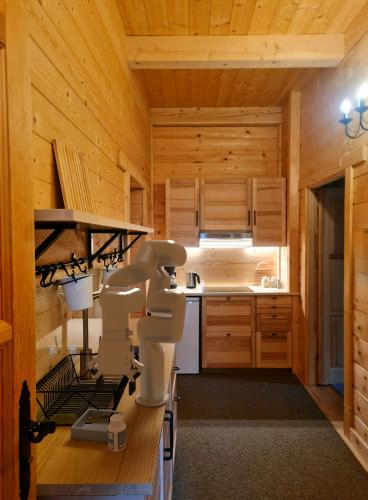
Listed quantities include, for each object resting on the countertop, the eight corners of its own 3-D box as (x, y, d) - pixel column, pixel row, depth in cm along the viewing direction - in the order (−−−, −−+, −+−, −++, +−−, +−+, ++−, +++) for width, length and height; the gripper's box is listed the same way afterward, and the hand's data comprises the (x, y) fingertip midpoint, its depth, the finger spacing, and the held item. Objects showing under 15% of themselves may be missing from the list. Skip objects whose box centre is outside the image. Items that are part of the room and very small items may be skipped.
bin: (88, 418, 116) (88, 408, 116) (122, 421, 114) (122, 411, 114) (70, 439, 105) (70, 427, 105) (107, 443, 102) (107, 431, 102)
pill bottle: (127, 441, 103) (127, 412, 103) (125, 452, 98) (124, 422, 98) (109, 441, 103) (109, 412, 103) (106, 452, 98) (106, 422, 98)
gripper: (148, 332, 101) (148, 389, 102) (93, 329, 104) (94, 384, 105) (140, 339, 94) (140, 400, 94) (81, 336, 97) (82, 395, 98)
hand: (115, 392), depth 100 cm, fingers open, 9 cm apart
